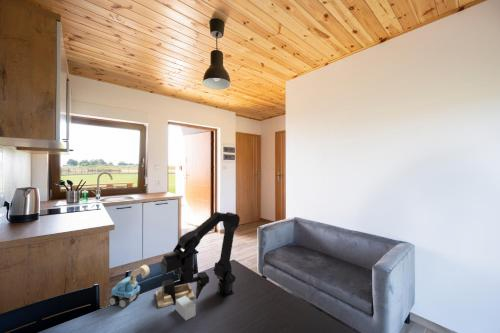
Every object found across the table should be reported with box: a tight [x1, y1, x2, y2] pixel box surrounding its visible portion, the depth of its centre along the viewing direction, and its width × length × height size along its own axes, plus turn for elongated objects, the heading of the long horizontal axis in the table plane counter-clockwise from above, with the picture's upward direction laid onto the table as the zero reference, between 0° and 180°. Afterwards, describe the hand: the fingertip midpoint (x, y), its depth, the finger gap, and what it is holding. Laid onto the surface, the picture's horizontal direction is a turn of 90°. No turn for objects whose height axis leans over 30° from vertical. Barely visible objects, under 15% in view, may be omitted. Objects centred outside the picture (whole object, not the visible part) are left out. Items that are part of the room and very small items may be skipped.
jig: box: [155, 283, 196, 309], centre depth 103 cm, size 16×12×3 cm
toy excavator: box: [108, 264, 151, 309], centre depth 98 cm, size 9×17×17 cm, turn 78°
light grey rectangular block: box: [175, 296, 197, 321], centre depth 92 cm, size 9×4×4 cm, turn 45°
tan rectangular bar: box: [161, 284, 188, 299], centre depth 103 cm, size 11×4×4 cm, turn 119°
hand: (185, 301), depth 92 cm, fingers open, 9 cm apart
